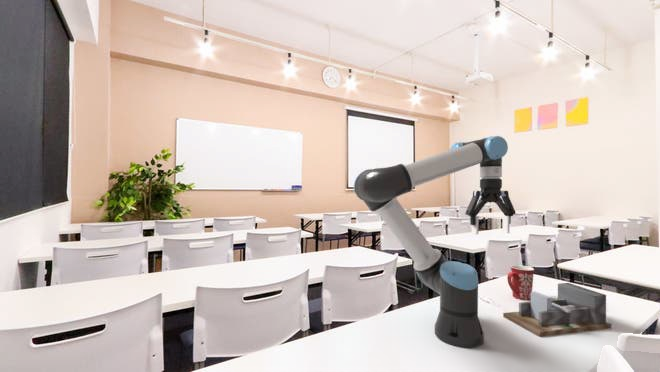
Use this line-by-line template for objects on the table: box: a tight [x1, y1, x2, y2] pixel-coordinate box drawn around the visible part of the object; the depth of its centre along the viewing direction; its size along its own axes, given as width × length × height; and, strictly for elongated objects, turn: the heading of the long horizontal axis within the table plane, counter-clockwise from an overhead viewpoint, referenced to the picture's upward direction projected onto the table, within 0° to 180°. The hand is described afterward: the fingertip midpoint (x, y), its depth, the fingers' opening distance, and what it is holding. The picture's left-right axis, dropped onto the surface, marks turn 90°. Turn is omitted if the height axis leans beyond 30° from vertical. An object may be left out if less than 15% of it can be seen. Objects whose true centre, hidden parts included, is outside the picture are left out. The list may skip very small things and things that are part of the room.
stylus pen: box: [478, 294, 507, 311], centre depth 132 cm, size 15×3×2 cm, turn 14°
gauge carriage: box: [530, 291, 571, 326], centre depth 111 cm, size 8×11×9 cm
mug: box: [506, 264, 535, 301], centre depth 139 cm, size 13×9×14 cm
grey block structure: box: [502, 282, 612, 338], centre depth 114 cm, size 30×16×12 cm, turn 102°
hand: (490, 233), depth 120 cm, fingers open, 13 cm apart
